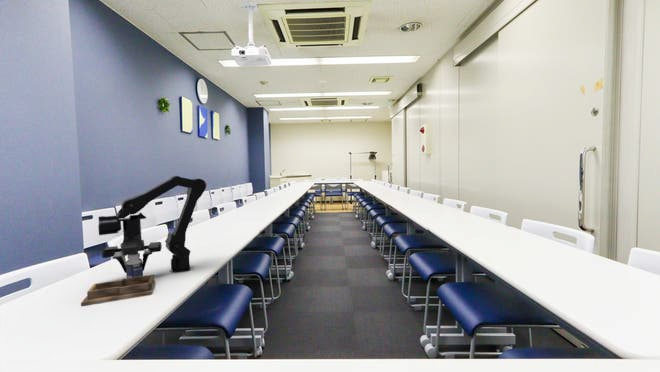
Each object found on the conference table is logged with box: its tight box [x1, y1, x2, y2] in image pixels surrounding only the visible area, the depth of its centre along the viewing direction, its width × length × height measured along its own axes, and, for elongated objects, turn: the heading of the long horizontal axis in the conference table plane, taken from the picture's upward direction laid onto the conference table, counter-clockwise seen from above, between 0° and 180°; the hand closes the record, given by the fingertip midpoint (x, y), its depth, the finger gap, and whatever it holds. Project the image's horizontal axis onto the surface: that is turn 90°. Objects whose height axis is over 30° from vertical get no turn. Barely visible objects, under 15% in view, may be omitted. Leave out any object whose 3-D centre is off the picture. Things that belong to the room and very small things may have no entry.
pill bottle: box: [125, 252, 144, 278], centre depth 117 cm, size 5×5×10 cm
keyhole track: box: [80, 274, 156, 307], centre depth 104 cm, size 19×12×4 cm, turn 115°
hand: (134, 271), depth 117 cm, fingers closed on pill bottle, 5 cm apart
